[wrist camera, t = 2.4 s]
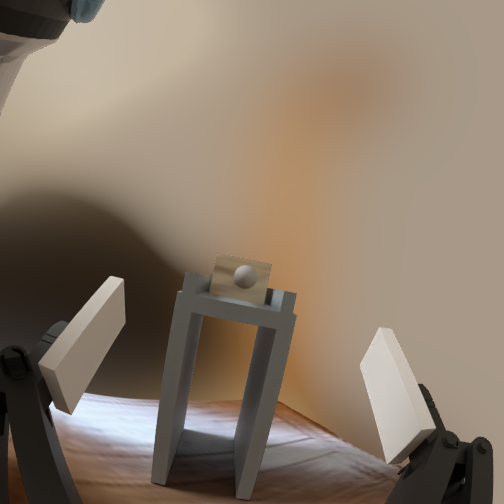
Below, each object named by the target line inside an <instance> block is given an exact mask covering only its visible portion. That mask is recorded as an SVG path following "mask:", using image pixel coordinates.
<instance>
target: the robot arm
mask: <svg viewBox="0 0 504 504" xmlns="http://www.w3.org/2000/svg"><path fill="white" fill-rule="evenodd" d="M104 1H105V0H0V115H1V111H2V109H3V107H4V104H5V102H6V99H7V97H8V94H9V92H10V89H11V87H12V85H13V83H14V80H15V78H16V76H17V74H18V72H19V70H20V67H21V66H22V63H23V61H24V60H25V59H26V58H27V56H28V55H29V54H31V53H33V52H35V51H37V50H39V49H42V48H44V47H46V46H48V45H50V44H52V43H55V42H56V41H57V40H58V38H59V36H60V35H61V33H62V32H63V30H64V28H65V27H66V25H67V24H68V22H69V21H70V20H71V19H73V20H74V21H75V22H76V23H80V22H82V23H88V22H91V21H92V20H93V19H94V18H95V16H96V15H97V13H98V11H99V10H100V8H101V6H102V4H103V3H104ZM124 324H125V304H124V279H121V278H117V277H113V276H110V277H109V278H108V279H107V280H106V281H105V283H104V284H103V285H102V286H101V287H100V288H99V289H98V290H97V292H96V293H95V294H94V295H93V296H92V297H91V298H90V300H89V301H88V302H87V303H86V304H85V306H84V307H83V308H82V309H81V311H79V313H78V314H77V315H76V316H75V318H74V319H73V320H72V321H71V322H70V323H67V322H64V321H60V322H58V323H56V324H55V325H53V326H52V327H51V328H50V329H49V330H48V331H47V333H46V335H44V336H43V338H42V339H41V340H40V341H39V342H38V343H37V345H36V346H35V347H34V348H33V350H32V351H31V352H30V353H29V354H28V355H27V353H26V351H25V350H24V349H23V348H22V347H20V346H9V347H6V348H4V349H3V350H2V351H1V352H0V504H9V496H8V436H9V422H10V428H11V434H12V439H13V444H14V449H15V453H16V458H17V462H18V466H19V470H20V474H21V477H22V481H23V484H24V488H25V491H26V494H27V497H28V500H29V503H30V504H83V503H82V501H81V498H80V496H79V494H78V491H77V489H76V487H75V484H74V482H73V479H72V477H71V474H70V472H69V469H68V466H67V463H66V461H65V458H64V455H63V452H62V449H61V446H60V443H59V440H58V436H57V433H56V430H55V426H54V423H53V419H52V415H51V411H50V409H49V405H50V404H51V402H52V400H53V403H54V405H55V407H56V409H58V410H60V411H63V412H65V413H67V414H70V415H72V413H73V411H74V409H75V407H76V406H77V404H78V402H79V400H80V398H81V397H82V395H83V393H84V391H85V389H86V388H87V386H88V384H89V382H90V380H91V379H92V377H93V375H94V374H95V372H96V370H97V369H98V367H99V365H100V363H101V362H102V360H103V358H104V357H105V355H106V353H107V352H108V350H109V348H110V347H111V345H112V343H113V342H114V340H115V338H116V337H117V335H118V334H119V332H120V330H121V329H122V327H123V326H124ZM360 368H361V371H362V374H363V378H364V381H365V385H366V388H367V391H368V395H369V398H370V402H371V405H372V409H373V412H374V416H375V420H376V423H377V427H378V431H379V435H380V439H381V442H382V447H383V451H384V455H385V459H386V463H387V465H389V464H398V463H402V462H403V461H404V460H405V459H406V458H407V457H408V456H409V460H410V463H409V464H407V465H406V466H405V467H404V468H403V469H402V470H400V471H399V473H398V475H400V474H401V473H402V472H403V473H402V475H401V477H400V478H399V480H398V482H397V484H396V486H395V487H394V489H393V491H392V492H391V494H390V496H389V497H388V499H387V501H386V502H385V504H492V501H493V449H492V445H491V443H490V442H489V441H488V440H487V439H486V438H484V437H477V438H476V439H474V441H472V442H471V443H466V442H461V441H459V438H458V437H457V436H456V435H455V434H454V433H453V432H450V431H446V429H445V427H444V425H443V422H442V420H441V418H440V415H439V413H438V411H437V409H436V408H435V404H434V401H432V400H433V399H432V397H431V395H430V393H429V391H428V390H427V389H426V387H425V386H424V385H423V384H417V382H416V379H415V377H414V375H413V373H412V371H411V369H410V366H409V364H408V362H407V360H406V358H405V356H404V354H403V352H402V349H401V347H400V345H399V343H398V341H397V339H396V337H395V335H394V333H393V331H392V329H388V328H379V329H378V331H377V333H376V335H375V337H374V339H373V341H372V343H371V345H370V347H369V349H368V351H367V353H366V354H365V356H364V358H363V360H362V362H361V364H360ZM464 478H465V483H464Z"/></svg>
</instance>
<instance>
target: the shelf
mask: <svg viewBox="0 0 504 504" xmlns="http://www.w3.org/2000/svg"><path fill="white" fill-rule="evenodd" d="M212 276H213V274H211V277H210V276H205V275H202V274H197V273H193V272H188V271H186V274H185V280H184V284H183V289H182V291H178V292H177V297H176V303H175V308H174V313H173V319H172V325H171V331H170V336H169V342H168V348H167V354H166V361H165V367H164V374H163V381H162V387H161V395H160V402H159V410H158V418H157V426H156V435H155V444H154V454H153V464H152V476H151V482H154V483H158V484H161V485H165V483H166V480H167V477H168V474H169V471H170V468H171V465H172V462H173V459H174V456H175V453H176V450H177V447H178V444H179V441H180V438H181V435H182V431H183V428H184V423H185V417H186V410H187V404H188V397H189V392H190V386H191V380H192V375H193V369H194V363H195V357H196V352H197V347H198V341H199V336H200V330H201V324H202V320H203V315H207V316H212V317H216V318H221V319H227V320H231V321H237V322H241V323H246V324H252V325H257V326H258V329H257V334H256V339H255V344H254V348H253V353H252V358H251V363H250V367H249V372H248V377H247V382H246V386H245V391H244V395H243V400H242V405H241V409H240V414H239V418H238V423H237V427H236V432H235V436H234V452H235V488H236V498H237V499H246V500H250V498H251V495H252V492H253V488H254V485H255V482H256V478H257V475H258V471H259V468H260V464H261V461H262V457H263V454H264V450H265V446H266V443H267V439H268V435H269V431H270V428H271V424H272V420H273V416H274V412H275V408H276V404H277V400H278V396H279V391H280V388H281V383H282V379H283V375H284V371H285V366H286V362H287V357H288V353H289V349H290V344H291V339H292V335H293V330H294V325H295V321H296V315H295V314H293V309H294V304H295V299H296V293H292V292H286V291H281V290H275V289H270V288H267V291H266V296H265V301H264V305H261V304H256V303H251V302H246V301H241V300H236V299H231V298H226V297H221V296H216V295H211V294H209V291H210V286H211V281H212Z"/></svg>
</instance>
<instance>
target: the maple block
mask: <svg viewBox="0 0 504 504" xmlns="http://www.w3.org/2000/svg"><path fill="white" fill-rule="evenodd" d="M271 266H272V264H269V263H264V262H259V261H254V260H249V259H244V258H239V257H234V256H229V255H224V254H220V253H217V257H216V262H215V267H214V271H213V276H212V281H211V286H210V291H209V294H211V295H216V296H221V297H226V298H231V299H236V300H241V301H246V302H251V303H256V304H261V305H264V301H265V296H266V291H267V286H268V281H269V276H270V271H271Z"/></svg>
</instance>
